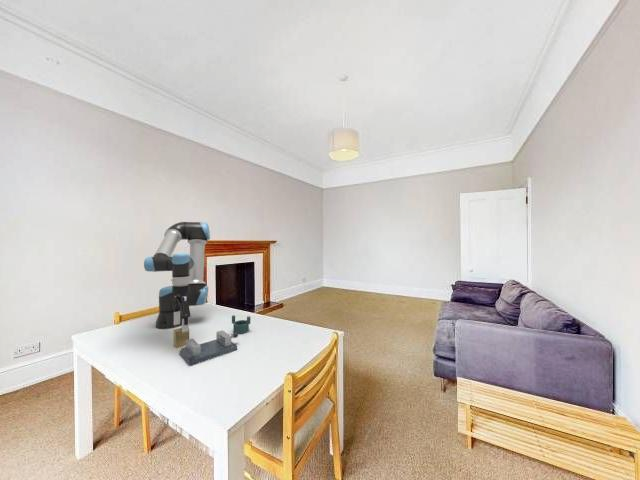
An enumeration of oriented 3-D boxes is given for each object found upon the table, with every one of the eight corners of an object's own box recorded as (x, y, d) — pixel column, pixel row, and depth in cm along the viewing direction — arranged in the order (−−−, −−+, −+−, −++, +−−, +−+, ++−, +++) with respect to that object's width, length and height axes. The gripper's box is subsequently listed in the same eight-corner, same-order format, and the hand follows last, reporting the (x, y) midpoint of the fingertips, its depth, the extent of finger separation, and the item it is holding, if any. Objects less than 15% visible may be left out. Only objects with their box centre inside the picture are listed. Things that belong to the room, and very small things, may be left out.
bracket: (251, 332, 139) (251, 316, 139) (234, 335, 135) (234, 319, 135) (247, 327, 147) (247, 312, 147) (231, 330, 142) (231, 314, 142)
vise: (179, 354, 113) (179, 340, 113) (224, 340, 128) (224, 328, 128) (189, 366, 103) (189, 350, 103) (237, 349, 118) (237, 336, 118)
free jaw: (216, 340, 123) (216, 331, 123) (233, 335, 129) (233, 327, 129) (225, 347, 116) (225, 337, 116) (242, 341, 122) (242, 332, 122)
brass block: (173, 345, 122) (173, 329, 122) (186, 342, 126) (186, 326, 126) (175, 348, 119) (175, 332, 119) (189, 344, 123) (189, 328, 123)
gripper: (165, 282, 128) (165, 323, 128) (180, 289, 111) (180, 336, 111) (181, 280, 134) (181, 320, 134) (197, 287, 116) (198, 332, 116)
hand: (181, 327), depth 122 cm, fingers open, 13 cm apart
